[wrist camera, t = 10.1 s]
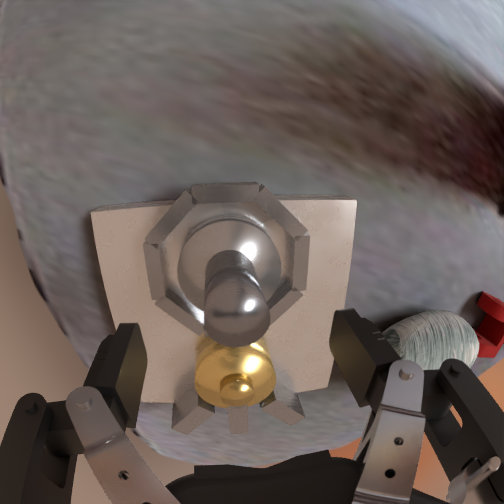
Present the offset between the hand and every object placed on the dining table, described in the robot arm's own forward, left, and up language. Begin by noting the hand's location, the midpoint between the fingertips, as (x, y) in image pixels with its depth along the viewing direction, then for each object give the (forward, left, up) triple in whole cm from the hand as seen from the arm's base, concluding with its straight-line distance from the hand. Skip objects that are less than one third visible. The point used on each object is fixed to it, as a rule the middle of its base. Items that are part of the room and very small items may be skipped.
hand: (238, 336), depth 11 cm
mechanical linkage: (+13, +37, -11) cm, 41 cm away
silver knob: (0, 0, -8) cm, 8 cm away
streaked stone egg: (+11, +19, -11) cm, 25 cm away
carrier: (+5, 0, -10) cm, 12 cm away
